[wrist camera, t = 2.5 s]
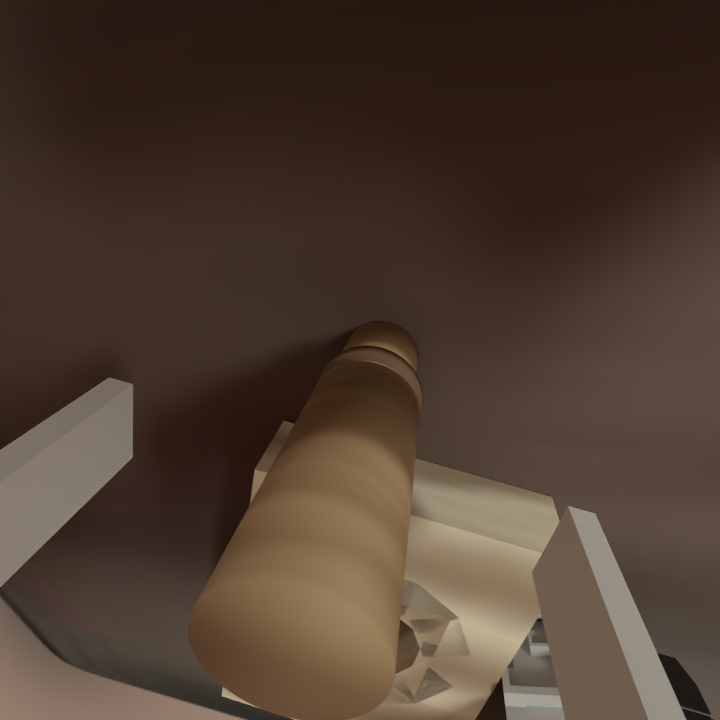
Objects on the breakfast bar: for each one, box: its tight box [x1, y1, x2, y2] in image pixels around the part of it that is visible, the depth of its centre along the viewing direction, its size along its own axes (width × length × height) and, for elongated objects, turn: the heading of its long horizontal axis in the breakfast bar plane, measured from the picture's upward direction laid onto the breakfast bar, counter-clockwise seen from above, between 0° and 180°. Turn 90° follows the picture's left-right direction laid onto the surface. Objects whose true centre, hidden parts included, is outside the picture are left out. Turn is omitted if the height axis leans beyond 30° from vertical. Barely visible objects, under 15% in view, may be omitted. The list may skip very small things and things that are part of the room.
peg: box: [188, 321, 423, 720], centre depth 15 cm, size 4×4×14 cm
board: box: [222, 421, 559, 720], centre depth 25 cm, size 18×14×4 cm
